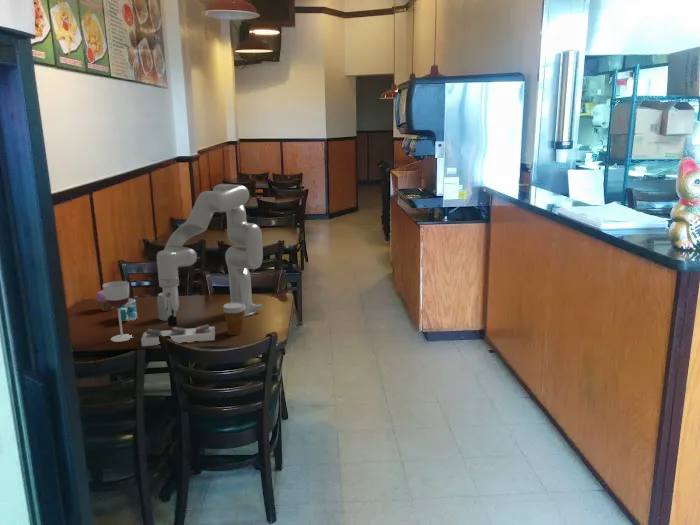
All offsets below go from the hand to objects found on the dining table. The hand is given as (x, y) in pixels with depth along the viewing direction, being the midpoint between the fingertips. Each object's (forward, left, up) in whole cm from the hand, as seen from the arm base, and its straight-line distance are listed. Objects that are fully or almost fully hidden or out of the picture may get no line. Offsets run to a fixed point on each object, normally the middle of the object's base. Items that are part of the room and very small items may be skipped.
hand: (172, 325), depth 230 cm
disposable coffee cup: (-24, -4, -7) cm, 26 cm away
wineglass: (+22, -9, -7) cm, 24 cm away
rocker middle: (-2, 0, -2) cm, 3 cm away
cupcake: (+36, -50, -7) cm, 62 cm away
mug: (+24, -32, -7) cm, 40 cm away
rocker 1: (+8, 0, -2) cm, 8 cm away
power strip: (-2, -1, -7) cm, 7 cm away
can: (+6, -29, -7) cm, 30 cm away
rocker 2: (-11, 0, -2) cm, 12 cm away
